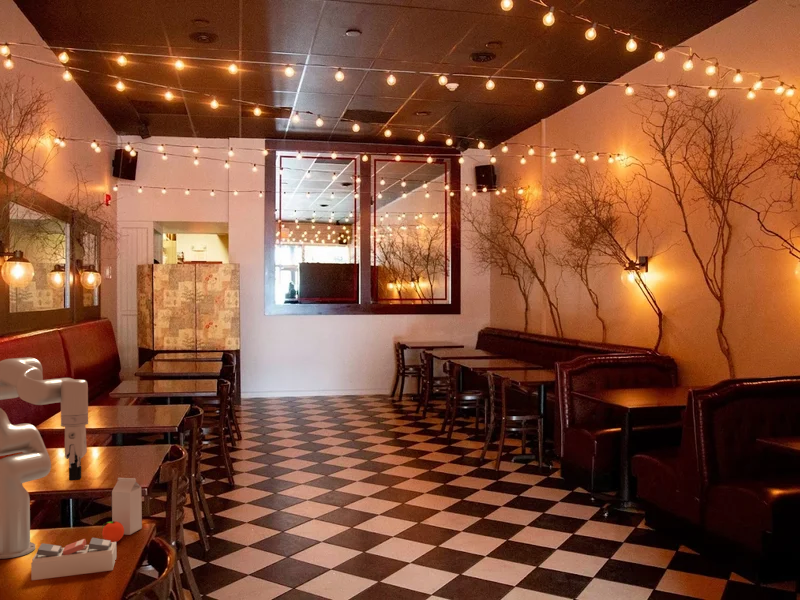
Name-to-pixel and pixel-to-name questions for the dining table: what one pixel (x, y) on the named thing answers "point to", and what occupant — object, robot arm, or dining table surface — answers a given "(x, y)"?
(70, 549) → the rocker mid
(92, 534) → the dining table surface
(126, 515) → the milk carton
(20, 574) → the dining table surface
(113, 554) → the rocker switch panel
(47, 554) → the rocker
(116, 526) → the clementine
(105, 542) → the plate
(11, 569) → the dining table surface
